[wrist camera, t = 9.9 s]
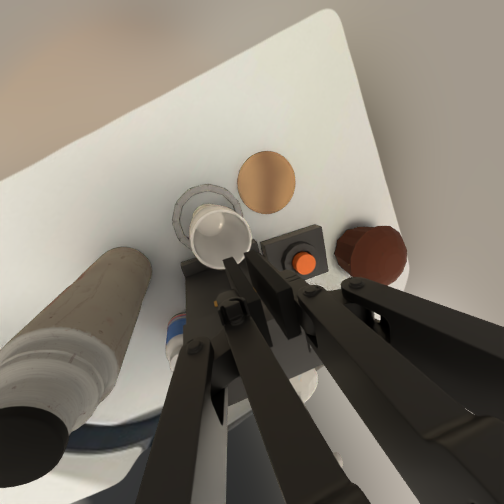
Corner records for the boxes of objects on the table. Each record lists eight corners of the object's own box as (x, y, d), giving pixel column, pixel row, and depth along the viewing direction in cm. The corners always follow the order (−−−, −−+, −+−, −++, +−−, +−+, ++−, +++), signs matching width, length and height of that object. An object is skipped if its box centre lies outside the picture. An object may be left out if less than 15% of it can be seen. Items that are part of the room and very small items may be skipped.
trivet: (245, 220, 41) (246, 221, 41) (230, 160, 38) (230, 159, 38) (298, 204, 43) (300, 204, 43) (287, 145, 40) (289, 144, 39)
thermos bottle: (85, 277, 37) (-139, 500, 11) (115, 236, 37) (-46, 371, 11) (133, 302, 40) (42, 524, 14) (162, 264, 40) (122, 423, 14)
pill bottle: (161, 324, 43) (155, 363, 34) (186, 306, 43) (187, 339, 34) (180, 344, 45) (180, 385, 36) (204, 326, 45) (210, 363, 36)
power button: (294, 273, 43) (298, 277, 41) (290, 255, 41) (294, 258, 40) (312, 267, 43) (317, 270, 42) (309, 248, 42) (314, 251, 40)
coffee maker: (201, 316, 44) (217, 432, 24) (156, 197, 37) (122, 218, 16) (267, 292, 46) (333, 379, 26) (237, 175, 39) (296, 169, 19)
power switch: (271, 285, 46) (278, 294, 43) (260, 242, 43) (267, 248, 40) (322, 267, 48) (333, 274, 44) (315, 224, 45) (326, 228, 41)
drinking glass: (230, 200, 40) (255, 210, 26) (227, 240, 42) (250, 270, 28) (187, 197, 38) (190, 206, 24) (187, 239, 40) (189, 271, 26)
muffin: (327, 226, 46) (363, 238, 37) (376, 213, 48) (422, 221, 39) (331, 282, 50) (365, 305, 41) (377, 268, 52) (419, 287, 43)
